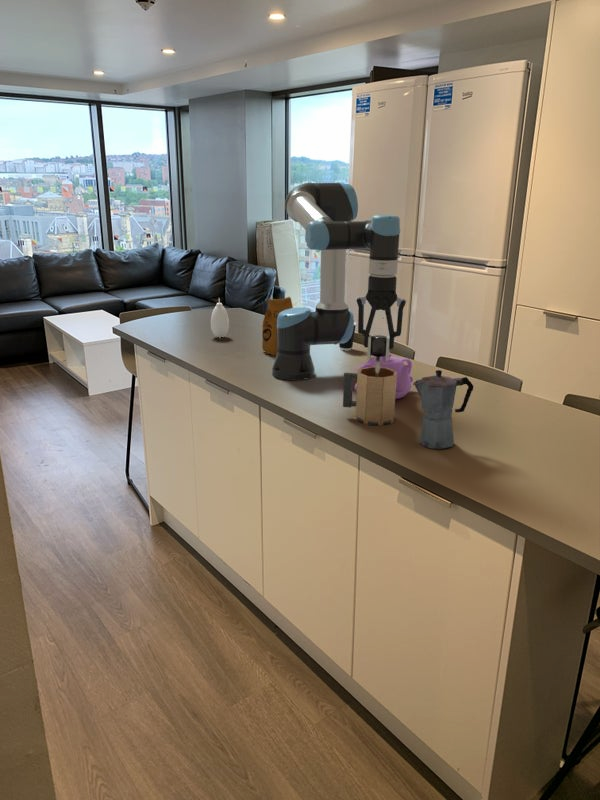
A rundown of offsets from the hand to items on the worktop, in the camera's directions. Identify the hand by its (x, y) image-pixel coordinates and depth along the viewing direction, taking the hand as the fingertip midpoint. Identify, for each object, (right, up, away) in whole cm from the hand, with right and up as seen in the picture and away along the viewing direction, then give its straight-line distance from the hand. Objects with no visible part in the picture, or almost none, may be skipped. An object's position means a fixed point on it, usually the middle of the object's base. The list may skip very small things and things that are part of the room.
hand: (378, 359), depth 170 cm
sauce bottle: (-57, +16, +98) cm, 115 cm away
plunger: (0, -11, +4) cm, 12 cm away
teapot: (+6, -10, +25) cm, 28 cm away
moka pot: (+14, -23, -11) cm, 29 cm away
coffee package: (-31, +8, +76) cm, 82 cm away
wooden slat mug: (-2, -17, +6) cm, 18 cm away
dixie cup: (-3, +9, +81) cm, 82 cm away
